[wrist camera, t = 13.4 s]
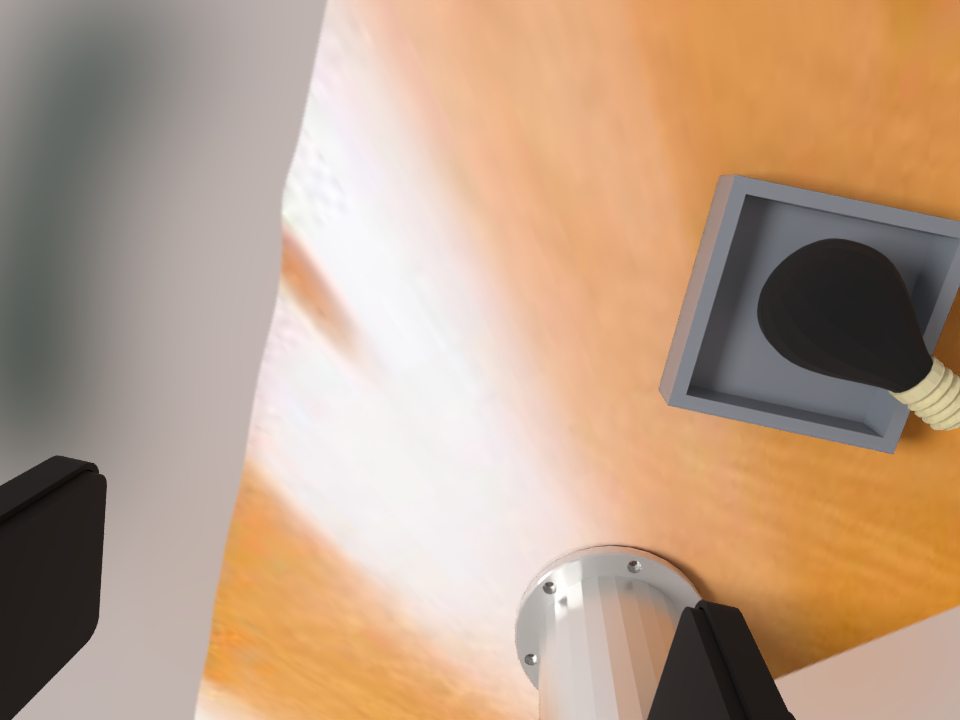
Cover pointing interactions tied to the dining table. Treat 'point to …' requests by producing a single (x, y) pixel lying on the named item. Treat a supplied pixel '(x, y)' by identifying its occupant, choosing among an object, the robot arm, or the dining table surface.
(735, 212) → the parts tray
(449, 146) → the dining table surface
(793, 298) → the light bulb
